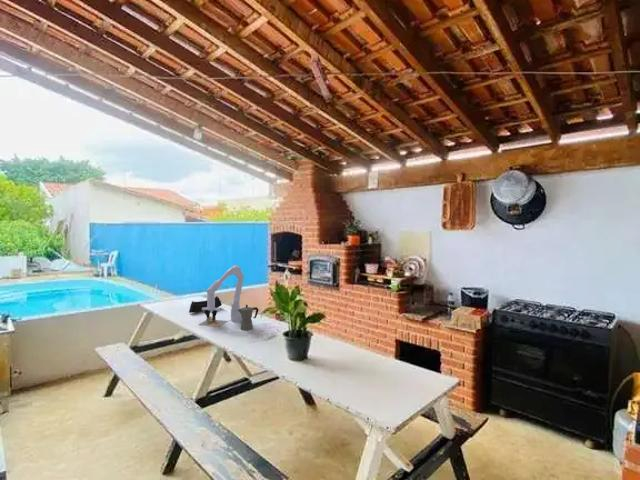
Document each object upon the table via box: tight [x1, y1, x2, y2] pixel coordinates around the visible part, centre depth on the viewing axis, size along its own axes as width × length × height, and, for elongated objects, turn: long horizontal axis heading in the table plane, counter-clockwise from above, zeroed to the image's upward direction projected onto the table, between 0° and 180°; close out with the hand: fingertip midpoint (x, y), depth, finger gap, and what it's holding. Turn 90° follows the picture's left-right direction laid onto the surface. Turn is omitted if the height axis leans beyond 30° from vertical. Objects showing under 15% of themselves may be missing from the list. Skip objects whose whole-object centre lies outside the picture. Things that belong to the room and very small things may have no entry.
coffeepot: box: [238, 304, 259, 331], centre depth 270 cm, size 15×9×18 cm, turn 111°
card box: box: [206, 315, 217, 323], centre depth 286 cm, size 4×7×3 cm, turn 168°
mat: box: [198, 319, 229, 328], centre depth 282 cm, size 18×16×1 cm
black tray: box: [188, 295, 222, 314], centre depth 319 cm, size 17×3×30 cm
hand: (211, 319), depth 286 cm, fingers closed on card box, 4 cm apart
